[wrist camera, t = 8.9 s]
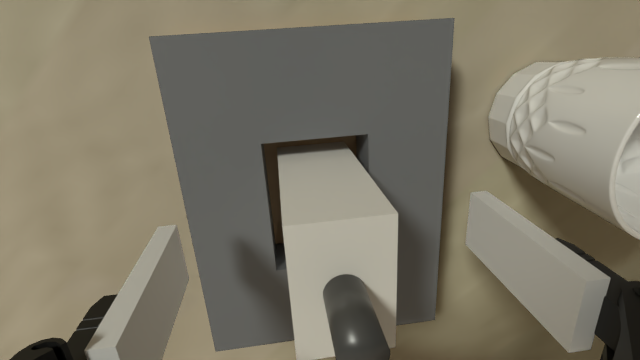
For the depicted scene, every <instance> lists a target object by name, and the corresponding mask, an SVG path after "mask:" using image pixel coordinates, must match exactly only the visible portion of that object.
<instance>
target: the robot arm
mask: <svg viewBox="0 0 640 360" xmlns="http://www.w3.org/2000/svg"><path fill="white" fill-rule="evenodd" d="M466 245H467V247H468V248H469V249H470V250H471V251H472V252H473V253H474V254H475V255H476V256H477V257H478V258H479V259H480V260H481V261H482V262H483V263H484V264H485V265H486V267H487V268H488V269H489V270H490V271H491V272H492V273H493V274H494V275H495V276H496V277H497V278H498V279H499V280H500V281H501V282H502V283H503V284H504V285H505V287H506V288H507V289H508V290H509V291H510V292H511V293H512V294H513V295H514V296H515V297H516V298H517V299H518V300H519V301H520V302H521V303H522V304H523V305H524V306H525V308H526V309H527V310H528V311H529V312H530V313H531V314H532V315H533V316H534V317H535V318H536V319H537V320H538V321H539V322H540V323H541V324H542V325H543V326H544V328H545V329H546V330H547V331H548V332H549V333H550V334H551V335H552V336H553V337H554V338H555V339H556V340H557V341H558V342H559V343H560V344H561V345H562V346H563V348H564V349H565V350H566V351H567V352H568V353H572V352H578V351H584V350H591V347H592V343H593V340H594V336H595V334H596V335H597V336H598V337H599V338H600V339H601V340H602V341H603V342H604V343H605V346H604V349H603V352H602V356H601V359H600V360H640V282H639V281H629V282H628V281H626V280H625V279H624V278H622V277H621V276H619V275H618V274H616V273H615V272H613V271H612V270H610V269H609V268H607V267H606V266H604V265H603V264H601V263H600V262H598V261H595V259H594V258H593V257H591V256H590V255H588V254H585V252H584V251H582V250H581V249H579V248H578V247H576V246H575V245H573V244H571V243H569V242H566V241H564V240H561V239H559V238H556V239H554V238H553V237H552V236H550V235H549V234H547V233H546V232H545V231H543V230H542V229H540V228H539V227H537V226H536V225H535V224H533V223H532V222H530V221H529V220H527V219H526V218H525V217H523V216H522V215H520V214H519V213H517V212H516V211H515V210H513V209H512V208H510V207H509V206H507V205H506V204H505V203H503V202H502V201H500V200H499V199H498V198H496V197H495V196H493V195H492V194H490V193H489V192H488V191H480V192H471V195H470V205H469V215H468V225H467V235H466ZM188 280H189V276H188V272H187V267H186V263H185V258H184V254H183V250H182V245H181V241H180V237H179V232H178V228H177V225H170V226H161V227H158V228H157V229H156V231H155V233H154V235H153V236H152V238H151V240H150V241H149V243H148V245H147V246H146V248H145V250H144V251H143V253H142V255H141V256H140V258H139V260H138V261H137V263H136V265H135V266H134V268H133V270H132V271H131V273H130V275H129V276H128V278H127V280H126V281H125V283H124V285H123V286H122V288H121V290H120V291H119V293H118V294H117V295H109V296H104V297H102V298H101V299H100V300H99V301H98V302H96V303H95V304H94V305H93V306H92V307H91V308H90V309H89V311H88V312H87V314H86V315H85V317H84V318H83V321H81V323H80V324H79V326H78V327H77V330H76V331H75V332H74V333H73V335H72V336H71V338H70V339H69V341H68V342H67V343H66V342H65V341H64V340H63V339H61V338H49V339H45V340H41V341H38V342H36V343H33V344H31V345H29V346H27V347H26V348H24V349H22V350H21V351H19V352H18V353H17V354H15V355H14V356H13V357H12V358H11V359H10V360H162V357H163V354H164V351H165V348H166V345H167V343H168V340H169V337H170V334H171V331H172V328H173V325H174V322H175V319H176V316H177V313H178V310H179V307H180V304H181V301H182V298H183V295H184V292H185V289H186V286H187V283H188Z"/></svg>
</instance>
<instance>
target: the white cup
mask: <svg viewBox="0 0 640 360" xmlns="http://www.w3.org/2000/svg"><path fill="white" fill-rule="evenodd" d="M488 121H489V135H490V140H491V142H492V143H493V145H494V146H495V148H496V149H497V151H498V152H499V154H500V155H501V156H502V157H504V158H505V159H507V160H509V161H511V162H513V163H514V164H516V165H518V166H520V167H521V168H523V169H524V170H526V171H527V172H528V173H529V174H530V175H531V176H533V177H535V178H536V179H538V180H539V181H541V182H542V183H544V184H545V185H547V186H549V187H550V188H551V189H553V190H555V191H556V192H558V193H560V194H562V195H563V196H565V197H567V198H568V199H570V200H572V201H574V202H575V203H577V204H579V205H580V206H582V207H584V208H586V209H587V210H589V211H591V212H592V213H594V214H596V215H598V216H599V217H601V218H603V219H604V220H606V221H608V222H609V223H611V224H613V225H614V226H616V227H618V228H619V229H621V230H623V231H624V232H626V233H628V234H629V235H631V236H633V237H635V238H637V239H639V240H640V57H614V58H608V57H605V58H594V59H579V60H575V61H552V62H535V63H533V64H531V65H529V66H528V67H526V68H524V69H522V70H520V71H518V72H516V73H514V74H513V75H512V76H511V77H510V78H509V80H508V81H507V82H506V83H505V84H504V85H503V87H502V88H501V89H500V90H499V91H498V92H497V94H496V96H495V99H494V102H493V105H492V108H491V110H490V113H489V116H488Z"/></svg>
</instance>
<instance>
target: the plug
mask: <svg viewBox="0 0 640 360" xmlns="http://www.w3.org/2000/svg"><path fill="white" fill-rule="evenodd" d="M277 155H278V170H279V185H280V200H281V215H282V229H283V238H284V247H285V257H286V266H287V275H288V285H289V294H290V303H291V312H292V322H293V331H294V340H295V350H296V359H297V360H314V359H321V358H327V357H334V356H335V357H336V360H389V358H390V349H389V348H394V347H396V302H397V251H398V213H397V211H396V210H395V209H394V207H393V206H392V205H391V203H390V202H389V201H388V199H387V198H386V197H385V195H384V194H383V193H382V191H381V190H380V189H379V187H378V186H377V185H376V183H375V182H374V181H373V179H372V178H371V177H370V175H369V174H368V173H367V171H366V170H365V169H364V167H363V166H362V165H361V163H360V162H359V161H358V160H357V158H356V157H355V156H354V154H353V153H352V152H351V150H350V149H349V148H348V146H347V145H346V144H345V142H344V141H343V142H332V143H321V144H310V145H299V146H288V147H277Z"/></svg>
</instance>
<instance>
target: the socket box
mask: <svg viewBox="0 0 640 360" xmlns="http://www.w3.org/2000/svg"><path fill="white" fill-rule="evenodd" d="M453 32H454V18H446V19H430V20H413V21H397V22H380V23H364V24H348V25H331V26H315V27H299V28H282V29H266V30H249V31H233V32H217V33H200V34H184V35H168V36H151V37H149V40H150V44H151V49H152V54H153V59H154V63H155V68H156V73H157V77H158V82H159V87H160V92H161V96H162V101H163V106H164V110H165V115H166V120H167V125H168V129H169V134H170V139H171V143H172V148H173V153H174V158H175V162H176V167H177V172H178V176H179V181H180V186H181V191H182V195H183V200H184V205H185V209H186V214H187V219H188V224H189V228H190V233H191V238H192V242H193V247H194V252H195V257H196V261H197V266H198V271H199V275H200V280H201V285H202V290H203V294H204V299H205V304H206V308H207V313H208V318H209V323H210V327H211V332H212V337H213V341H214V346H215V351H223V350H230V349H237V348H244V347H251V346H258V345H265V344H272V343H278V342H285V341H292V340H294V331H293V322H292V312H291V303H290V294H289V285H288V275H287V266H286V257H285V247H284V238H283V229H282V215H281V200H280V185H279V170H278V155H277V147H288V146H299V145H310V144H321V143H332V142H343V141H344V142H345V144H346V145H347V146H348V148H349V149H350V150H351V152H352V153H353V154H354V156H355V157H356V158H357V160H358V161H359V162H360V163H361V165H362V166H363V167H364V169H365V170H366V171H367V173H368V174H369V175H370V177H371V178H372V179H373V181H374V182H375V183H376V185H377V186H378V187H379V189H380V190H381V191H382V193H383V194H384V195H385V197H386V198H387V199H388V201H389V202H390V203H391V205H392V206H393V207H394V209H395V210H396V211H397V213H398V251H397V302H396V325H403V324H410V323H417V322H424V321H430V320H435V310H436V294H437V279H438V263H439V248H440V232H441V217H442V202H443V186H444V171H445V155H446V140H447V124H448V109H449V93H450V78H451V63H452V47H453Z"/></svg>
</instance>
